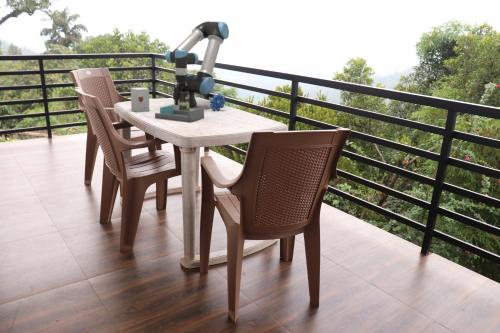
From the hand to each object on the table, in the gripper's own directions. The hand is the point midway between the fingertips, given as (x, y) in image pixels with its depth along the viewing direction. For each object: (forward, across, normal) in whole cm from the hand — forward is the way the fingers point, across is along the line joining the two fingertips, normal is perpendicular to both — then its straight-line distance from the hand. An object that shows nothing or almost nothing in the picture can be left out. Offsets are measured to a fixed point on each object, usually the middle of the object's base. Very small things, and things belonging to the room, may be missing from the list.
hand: (181, 108), depth 272 cm
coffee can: (+3, 0, 0) cm, 3 cm away
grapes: (+3, -21, +16) cm, 27 cm away
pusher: (+2, +17, -1) cm, 17 cm away
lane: (+3, +16, +8) cm, 19 cm away
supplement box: (+3, +8, -27) cm, 28 cm away
